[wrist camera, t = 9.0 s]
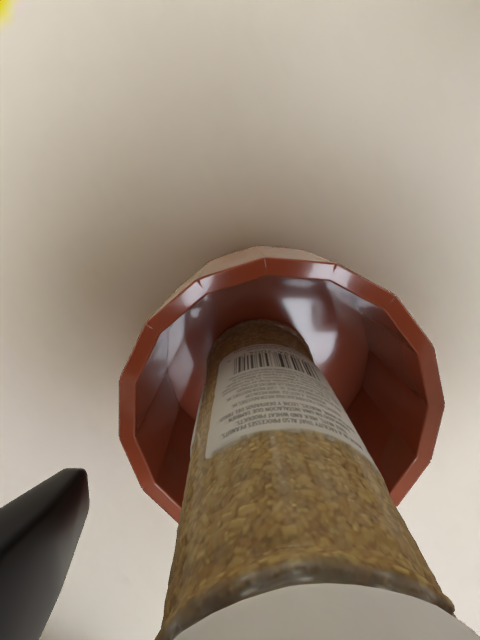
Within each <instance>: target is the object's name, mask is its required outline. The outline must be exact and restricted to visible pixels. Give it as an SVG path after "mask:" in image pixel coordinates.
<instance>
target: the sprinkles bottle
mask: <svg viewBox="0 0 480 640" xmlns="http://www.w3.org/2000/svg"><path fill="white" fill-rule="evenodd" d="M206 365H207V368H206V384H205V386H204V388H203V390H202V393H201V397H200V402H199V407H198V411H197V416H196V421H195V426H194V431H193V436H192V441H191V448H190V457H191V459H190V464H189V470H188V474H187V480H186V486H185V491H184V498H183V502H182V509H181V512H180V518H179V525H178V529H177V539H176V546H175V552H174V557H173V562H172V566H171V571H170V577H169V582H168V590H167V594H166V599H165V606H164V617H163V621H162V626H161V630H160V631H159V633H158V635H157V636H156V638H155V640H480V637H479V636H478V635H477V634H476V633H475V632H474V631H473V630H472V629H471V628H469V627H468V626H467V625H466V624H464V623H463V622H462V621H460V620H458V619H457V618H456V616H455V615H454V613H453V612H454V611H455V609H454V605H453V603H452V601H451V600H450V599H449V598H448V597H447V596H445V595H444V594H443V593H442V591H441V588H440V586H439V585H438V583H437V581H436V579H435V576H434V575H433V573H432V572H431V570H430V569H429V567H428V565H427V563H426V561H425V559H424V557H423V555H422V554H421V552H420V550H419V548H418V546H417V544H416V542H415V540H414V538H413V537H412V535H411V534H410V532H409V530H408V528H407V526H406V524H405V522H404V520H403V518H402V517H401V515H400V513H399V512H398V510H397V508H396V506H395V504H394V502H393V500H392V498H391V497H390V495H389V491H388V489H387V486H386V484H385V481H384V479H383V477H382V475H381V473H380V472H379V470H378V468H377V466H376V465H375V463H374V461H373V459H372V457H371V456H370V454H369V452H368V450H367V449H366V447H365V445H364V443H363V442H362V440H361V438H360V436H359V435H358V433H357V431H356V429H355V428H354V426H353V424H352V422H351V421H350V419H349V417H348V415H347V414H346V412H345V410H344V409H343V407H342V405H341V403H340V402H339V400H338V398H337V397H336V395H335V393H334V391H333V390H332V388H331V386H330V385H329V383H328V381H327V380H326V378H325V376H324V375H323V373H322V372H321V370H320V369H319V368H318V367H317V366H316V365H315V363H314V360H313V356H312V354H311V352H310V348H309V346H308V344H307V343H306V342H305V340H304V339H303V338H302V336H301V335H300V334H298V333H297V332H296V331H295V330H294V329H292V328H291V327H290V326H288V325H285V324H282V323H280V322H278V321H271V320H268V319H256V320H247V321H244V322H241V323H239V324H237V325H235V326H233V327H231V328H229V329H227V330H226V331H225V332H224V333H223V334H222V335H221V336H220V337H219V338H218V339H217V340H216V341H215V343H214V344H213V346H212V348H211V350H210V353H209V356H208V358H207V362H206Z"/></svg>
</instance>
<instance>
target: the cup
mask: <svg viewBox="0 0 480 640" xmlns="http://www.w3.org/2000/svg"><path fill="white" fill-rule="evenodd" d="M256 319H268V320H271V321H278V322H280V323H282V324H285V325H288V326H290V327H291V328H292V329H294V330H295V331H296V332H297V333H298V334H300V335H301V336H302V338H303V339H304V340H305V342H306V343H307V344H308V346H309V348H310V352H311V354H312V356H313V360H314V363H315V365H316V366H317V367H318V368H319V369H320V370H321V372H322V373H323V375H324V376H325V378H326V380H327V381H328V383H329V385H330V386H331V388H332V390H333V391H334V393H335V395H336V397H337V398H338V400H339V402H340V403H341V405H342V407H343V409H344V410H345V412H346V414H347V415H348V417H349V419H350V421H351V422H352V424H353V426H354V428H355V429H356V431H357V433H358V435H359V436H360V438H361V440H362V442H363V443H364V445H365V447H366V449H367V450H368V452H369V454H370V456H371V457H372V459H373V461H374V463H375V465H376V466H377V468H378V470H379V472H380V473H381V475H382V477H383V479H384V481H385V484H386V486H387V489H388V491H389V495H390V497H391V498H392V500H393V502H394V504H395V506H398V505H399V504H400V502H401V501H402V500H403V498H404V497H405V495H406V494H407V493H408V491H409V490H410V489H411V487H412V486H413V485H414V483H415V482H416V481H417V479H418V478H419V477H420V475H421V474H422V473H423V471H424V470H425V469H426V467H427V466H428V465H429V463H430V460H431V459H432V455H433V451H434V447H435V443H436V439H437V435H438V431H439V427H440V423H441V419H442V415H443V411H444V407H445V406H444V404H445V402H444V397H443V392H442V387H441V381H440V376H439V371H438V366H437V361H436V355H435V350H434V347H433V344H432V343H431V342H430V340H429V339H428V338H427V336H426V335H425V333H424V332H423V331H422V329H421V328H420V327H419V325H418V324H417V323H416V321H415V320H414V319H413V317H412V316H411V315H410V313H409V312H408V311H407V309H406V308H405V307H404V305H403V304H402V303H401V301H400V300H399V299H398V297H397V296H395V295H394V294H393V293H391V292H389V291H388V290H386V289H384V288H382V287H380V286H378V285H376V284H375V283H373V282H371V281H369V280H367V279H365V278H364V277H362V276H360V275H358V274H356V273H354V272H352V271H351V270H349V269H347V268H345V267H343V266H341V265H340V264H338V263H335V262H333V261H330V260H328V259H325V258H323V257H320V256H318V255H315V254H312V253H310V252H307V251H304V250H300V249H288V248H282V247H266V246H254V247H250V248H247V249H244V250H240V251H236V252H232V253H230V254H227V255H225V256H222V257H219V258H216V259H213V260H211V261H209V262H208V263H207V264H206V265H204V266H203V267H202V268H201V269H200V270H199V271H197V272H196V273H195V274H194V275H193V276H192V277H191V278H189V279H188V280H187V281H186V282H185V283H184V284H182V285H181V286H180V287H179V288H178V289H177V290H176V291H175V292H174V293H173V294H172V295H171V296H170V297H169V298H168V299H167V300H166V301H165V302H164V303H163V305H162V306H161V307H160V308H159V309H158V310H157V311H156V312H155V313H154V314H153V315H152V316H151V317H150V318H149V319H148V321H147V322H146V323H145V325H144V327H143V329H142V331H141V333H140V335H139V337H138V339H137V342H136V344H135V346H134V348H133V350H132V352H131V354H130V356H129V359H128V361H127V363H126V365H125V367H124V369H123V371H122V373H121V376H120V380H119V437H120V438H119V439H120V442H121V444H122V446H123V448H124V451H125V453H126V455H127V457H128V459H129V462H130V464H131V466H132V468H133V470H134V473H135V475H136V477H137V479H138V482H139V484H140V486H141V488H143V491H144V492H145V493H146V494H148V495H149V496H150V497H151V498H152V499H153V500H154V501H155V502H156V503H157V504H158V505H159V506H160V507H161V508H163V509H164V510H165V511H166V512H167V513H168V514H169V515H170V516H171V517H172V518H173V519H174V520H175V521H176V522H177V523H179V518H180V512H181V509H182V502H183V498H184V491H185V486H186V480H187V474H188V470H189V464H190V459H191V457H190V448H191V441H192V436H193V431H194V426H195V421H196V416H197V411H198V407H199V402H200V397H201V393H202V390H203V388H204V386H205V384H206V368H207V365H206V362H207V358H208V356H209V353H210V350H211V348H212V346H213V344H214V343H215V341H216V340H217V339H218V338H219V337H220V336H221V335H222V334H223V333H224V332H225V331H226V330H227V329H229V328H231V327H233V326H235V325H237V324H239V323H241V322H244V321H247V320H256Z"/></svg>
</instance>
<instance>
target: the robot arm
mask: <svg viewBox="0 0 480 640" xmlns="http://www.w3.org/2000/svg"><path fill="white" fill-rule="evenodd" d="M88 510H89V490H88V478H87V473H86V471H85V470H84V469H82V468H66V469H63V470H61V471H60V472H58V473H57V474H55V475H53V476H52V477H50V478H48V479H47V480H45V481H44V482H42V483H40V484H39V485H37V486H36V487H34V488H32V489H31V490H29V491H27V492H26V493H24V494H23V495H21V496H19V497H18V498H16V499H14V500H13V501H11V502H10V503H8V504H6V505H5V506H3V507H2V508H0V640H39V638H40V636H41V634H42V632H43V629H44V627H45V625H46V623H47V621H48V618H49V616H50V614H51V612H52V610H53V608H54V605H55V603H56V601H57V598H58V596H59V594H60V591H61V589H62V586H63V583H64V580H65V578H66V575H67V572H68V569H69V566H70V563H71V560H72V558H73V555H74V552H75V549H76V546H77V543H78V540H79V537H80V535H81V532H82V529H83V526H84V523H85V520H86V517H87V514H88Z"/></svg>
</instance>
